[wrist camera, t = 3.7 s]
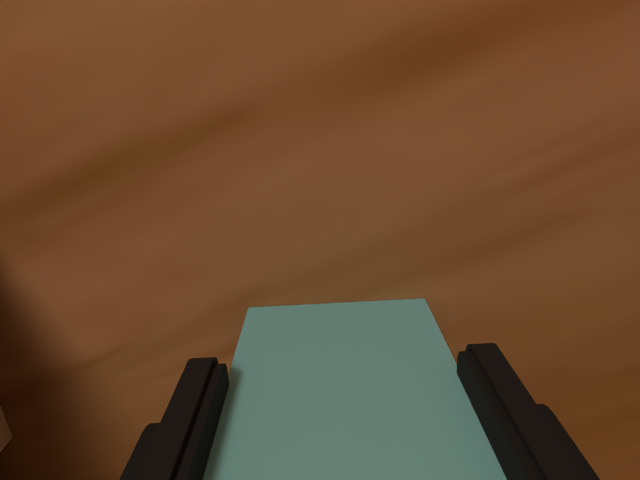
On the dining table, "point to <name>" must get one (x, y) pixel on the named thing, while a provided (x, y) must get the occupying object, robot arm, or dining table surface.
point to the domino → (4, 431)
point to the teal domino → (347, 399)
